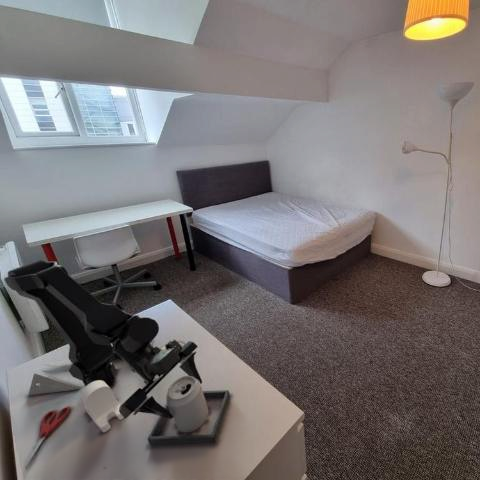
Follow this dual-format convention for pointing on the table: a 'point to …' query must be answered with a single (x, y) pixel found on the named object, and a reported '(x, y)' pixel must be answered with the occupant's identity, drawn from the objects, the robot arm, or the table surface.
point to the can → (187, 403)
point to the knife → (68, 362)
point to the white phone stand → (100, 404)
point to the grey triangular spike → (48, 385)
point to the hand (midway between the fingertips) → (187, 399)
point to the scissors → (49, 427)
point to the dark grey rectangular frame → (191, 439)
